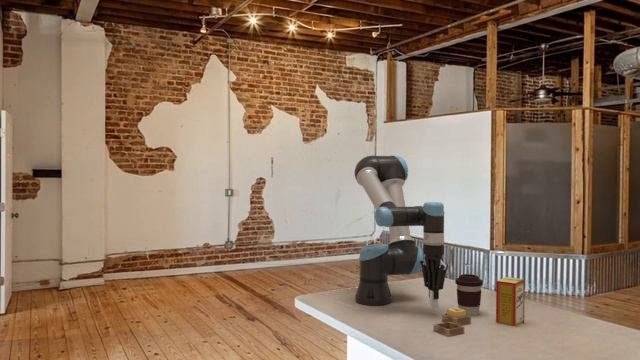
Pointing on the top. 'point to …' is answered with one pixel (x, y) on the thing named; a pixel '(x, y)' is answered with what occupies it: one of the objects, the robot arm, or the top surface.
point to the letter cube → (456, 313)
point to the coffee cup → (469, 293)
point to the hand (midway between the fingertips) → (433, 307)
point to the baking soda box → (510, 301)
